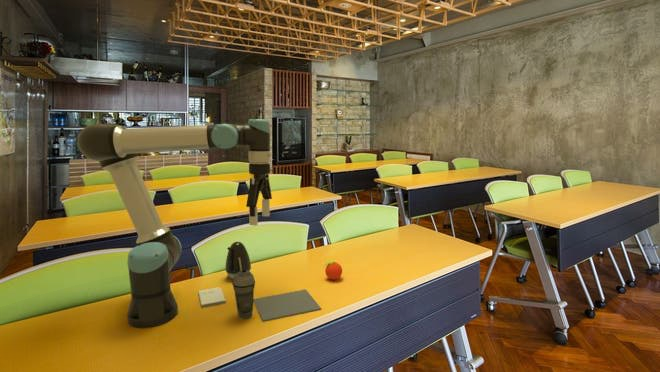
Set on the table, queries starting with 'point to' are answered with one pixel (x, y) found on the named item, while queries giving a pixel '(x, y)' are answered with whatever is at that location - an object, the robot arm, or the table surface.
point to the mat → (285, 305)
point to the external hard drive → (211, 297)
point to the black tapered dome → (237, 259)
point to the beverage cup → (244, 292)
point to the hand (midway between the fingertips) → (260, 220)
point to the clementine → (333, 270)
